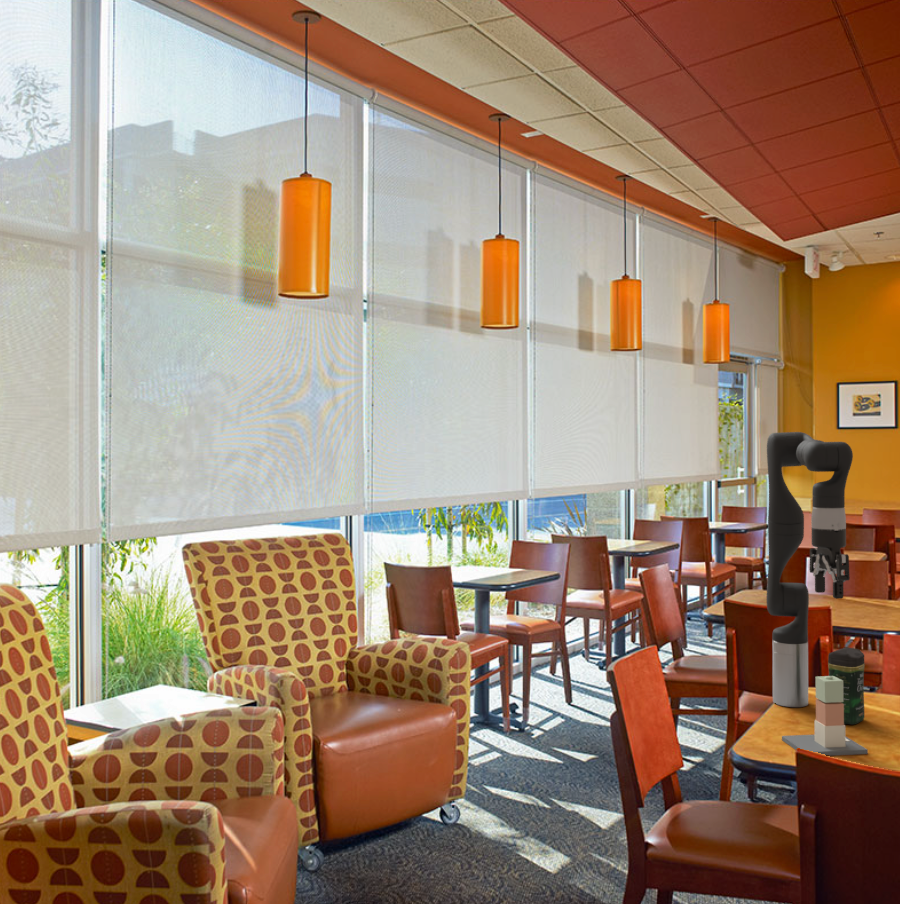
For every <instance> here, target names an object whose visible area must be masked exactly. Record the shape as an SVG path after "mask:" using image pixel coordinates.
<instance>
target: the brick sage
mask: <svg viewBox="0 0 900 904" xmlns="http://www.w3.org/2000/svg"><path fill="white" fill-rule="evenodd" d="M815 698H816V699H819V700H821V701H823V702H825V703H831V702H843V680H841V679H839V678H837V677H835V676H829V675H824V676H821V675H820V676H818V675H817V676H815Z"/></svg>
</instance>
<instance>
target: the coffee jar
mask: <svg viewBox="0 0 900 904" xmlns="http://www.w3.org/2000/svg"><path fill="white" fill-rule="evenodd" d="M827 657H828V659H827V665H828V666H827V667H828V676H835V677H837V678H839V679H841V680H843V702H841V703H843V704H844V725H856V724H859V723H861V722H863V720H864V719H865V695H864V693H865V692H864V690H865V689H864V688H865V687H864V686H865V685H864V683H865V682H864V681H865V680H864V674H865V664H866V663H865V654H864V652H863V651H861V649H858V648H854V647H844V646H843V648H840V649H837V650H834V651H832V652H828V656H827Z"/></svg>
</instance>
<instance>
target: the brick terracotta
mask: <svg viewBox="0 0 900 904" xmlns="http://www.w3.org/2000/svg"><path fill="white" fill-rule="evenodd" d="M815 720H817V721H818V722H820V723H821V724H823V725H825V726H836V725H845V724H844V704H843V703H841V702H831V703H825V702H823V701H821V700H819V699H817V698H816V699H815Z"/></svg>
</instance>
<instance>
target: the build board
mask: <svg viewBox="0 0 900 904" xmlns="http://www.w3.org/2000/svg"><path fill="white" fill-rule="evenodd" d="M781 740H782V742H784V743H785V744H787V745H788V746H790V747H791V748H792V749H794V750H795V751H797V750H796V749H797V748H800V749H804V750H809V751H813V752H818V753H821V754H825V755H829V757H830V756H853V755H868V753H869V752H868V749H867V748H866V747H864V746H863V745H860V744H859V743H857V742H855V741H854V740H853V739H851V738H849V737H848V736H846V724H844V725H836V726H825V725H823V724H821V723H820V722H818V721H817V720H816V719H814V734H796V735H781Z"/></svg>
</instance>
